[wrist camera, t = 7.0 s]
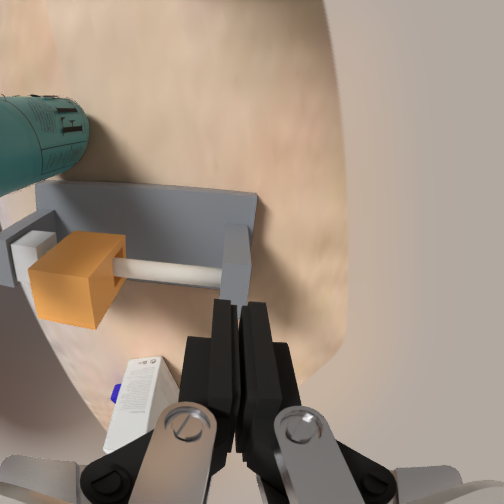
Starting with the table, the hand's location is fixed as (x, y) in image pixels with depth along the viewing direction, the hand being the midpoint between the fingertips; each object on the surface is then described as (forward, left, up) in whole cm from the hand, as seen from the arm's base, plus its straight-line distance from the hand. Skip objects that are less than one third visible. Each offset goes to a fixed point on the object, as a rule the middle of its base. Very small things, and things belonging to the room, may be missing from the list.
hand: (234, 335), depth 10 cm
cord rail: (+3, -8, -16) cm, 18 cm away
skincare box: (+19, -7, -16) cm, 26 cm away
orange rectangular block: (+3, -9, -11) cm, 14 cm away
